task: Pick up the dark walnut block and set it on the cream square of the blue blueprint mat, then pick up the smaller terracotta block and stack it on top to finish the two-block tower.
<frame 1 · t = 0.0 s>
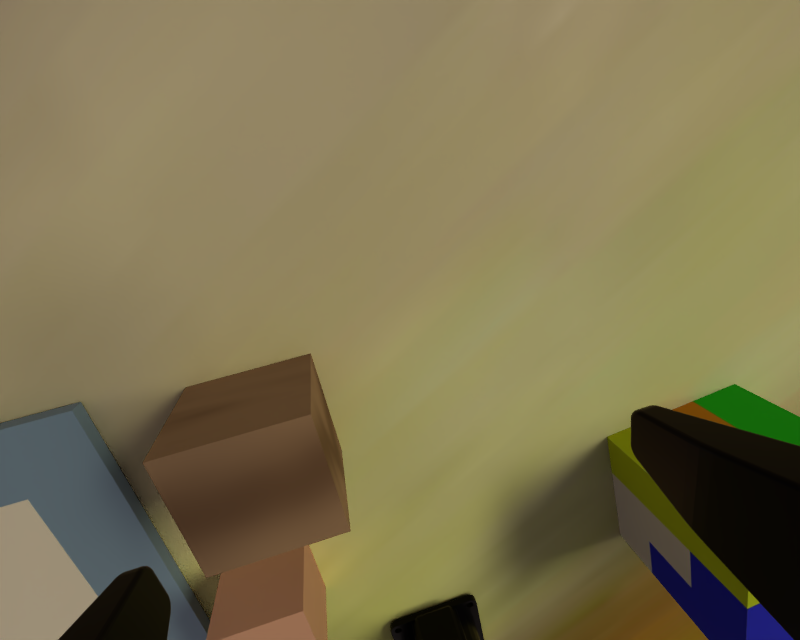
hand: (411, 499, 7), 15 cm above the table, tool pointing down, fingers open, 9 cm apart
terracotta block: (277, 572, 27), on the table
puzzle toy: (671, 461, 31), on the table
walnut block: (269, 419, 23), on the table
blueprint mat: (8, 578, 23), on the table
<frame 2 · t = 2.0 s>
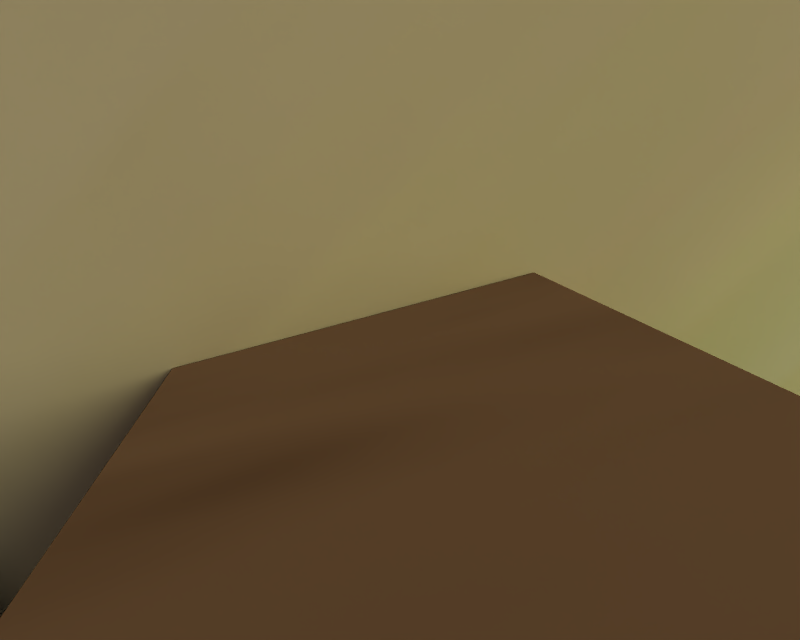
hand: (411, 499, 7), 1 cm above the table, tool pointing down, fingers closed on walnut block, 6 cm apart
walnut block: (399, 462, 8), on the table, touching gripper
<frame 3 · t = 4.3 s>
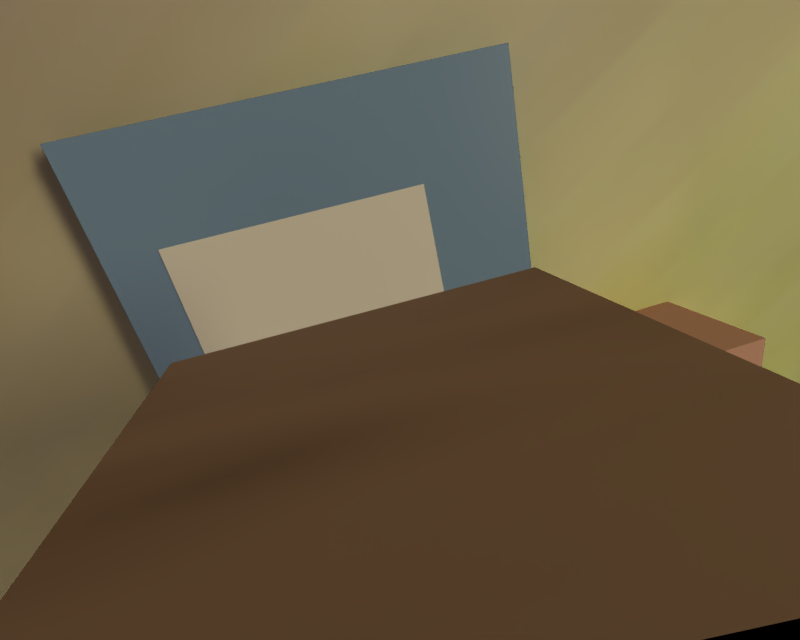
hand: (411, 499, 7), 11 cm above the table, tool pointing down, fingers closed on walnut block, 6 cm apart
terracotta block: (622, 357, 22), on the table
walnut block: (399, 458, 8), point 10 cm above the table, touching gripper
blueprint mat: (354, 322, 18), on the table
when the fingers open (3 cm above the table, at t = 6.5 s): walnut block drops 1 cm, resting on blueprint mat.
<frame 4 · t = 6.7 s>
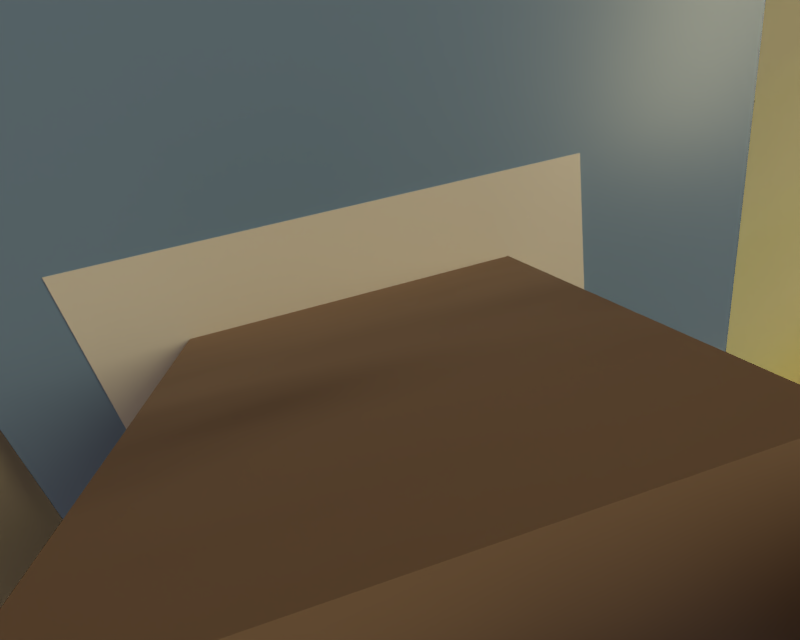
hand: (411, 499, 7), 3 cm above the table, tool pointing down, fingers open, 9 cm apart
walnut block: (390, 427, 9), point 1 cm above the table, touching blueprint mat
blueprint mat: (420, 399, 10), on the table
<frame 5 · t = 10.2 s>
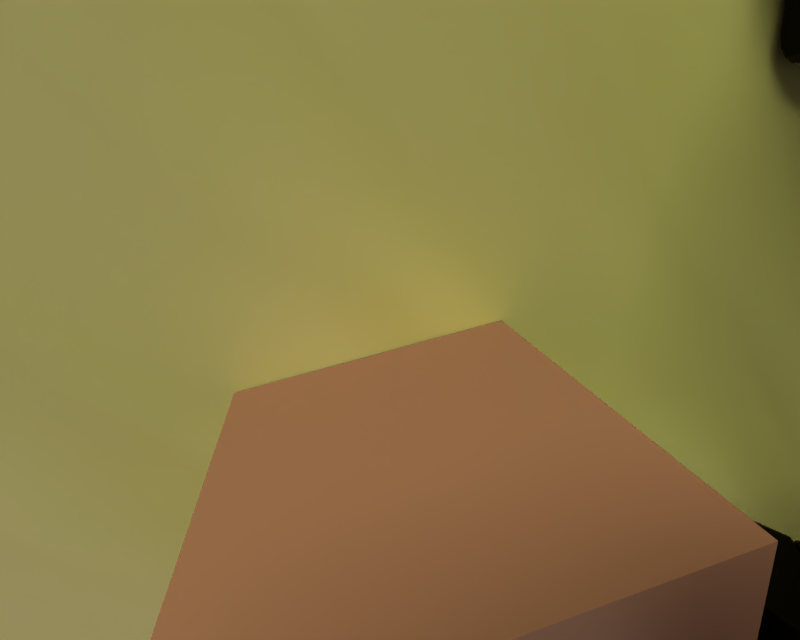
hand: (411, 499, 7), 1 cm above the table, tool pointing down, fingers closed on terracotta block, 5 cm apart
terracotta block: (399, 462, 8), on the table, touching gripper
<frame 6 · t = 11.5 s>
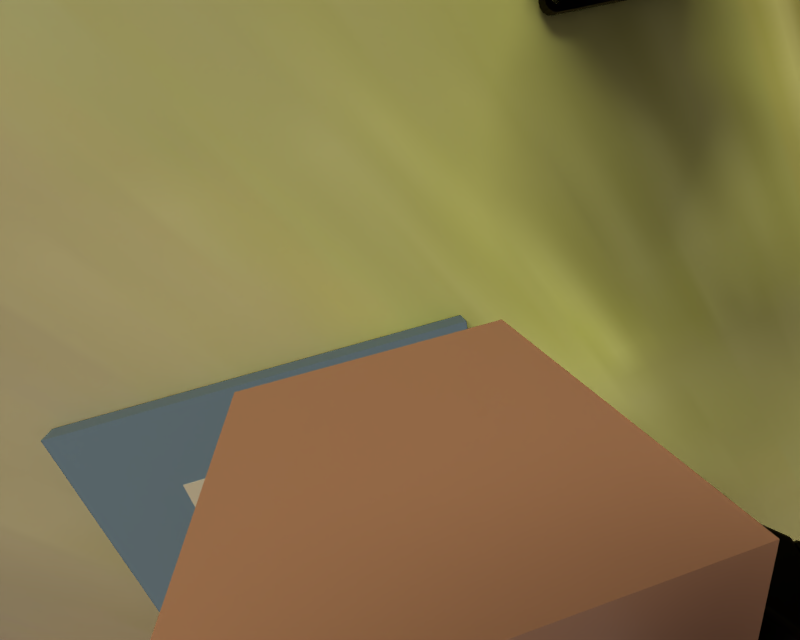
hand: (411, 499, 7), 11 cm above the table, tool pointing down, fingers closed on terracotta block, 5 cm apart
terracotta block: (400, 461, 8), point 10 cm above the table, touching gripper
blueprint mat: (318, 502, 21), on the table
when the fingers open (9 cm above the table, at t = 13.0 s): terracotta block drops 1 cm, resting on walnut block.
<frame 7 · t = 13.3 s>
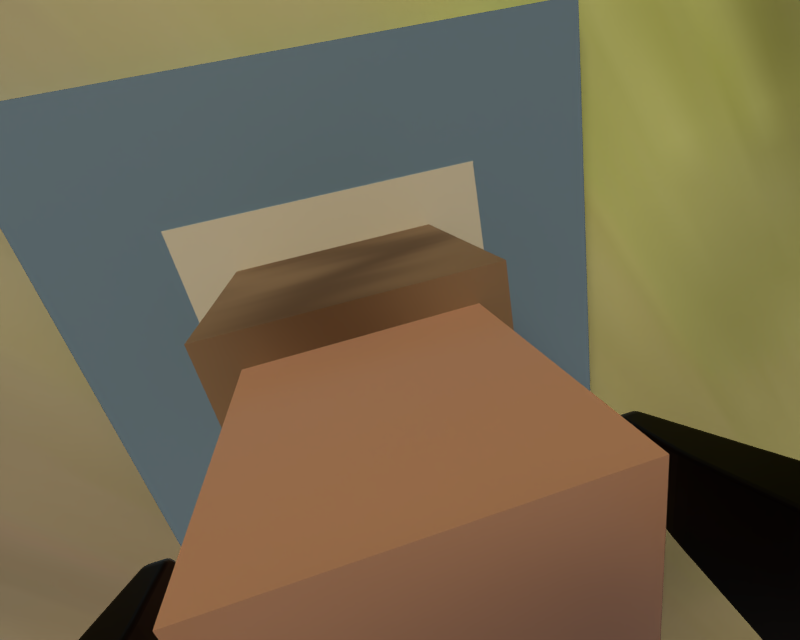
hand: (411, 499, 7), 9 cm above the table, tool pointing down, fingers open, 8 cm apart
terracotta block: (390, 433, 9), point 7 cm above the table, touching walnut block
walnut block: (358, 334, 15), point 1 cm above the table, touching blueprint mat, terracotta block
blueprint mat: (351, 303, 15), on the table
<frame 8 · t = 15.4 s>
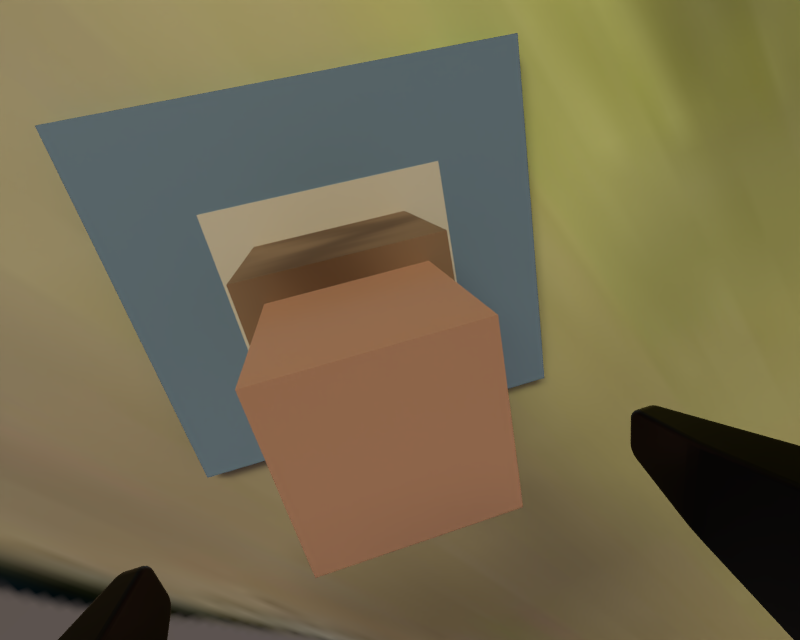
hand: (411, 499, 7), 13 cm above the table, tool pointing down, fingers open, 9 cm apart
terracotta block: (368, 355, 13), point 7 cm above the table, touching walnut block
walnut block: (349, 299, 19), point 1 cm above the table, touching blueprint mat, terracotta block
blueprint mat: (344, 275, 19), on the table
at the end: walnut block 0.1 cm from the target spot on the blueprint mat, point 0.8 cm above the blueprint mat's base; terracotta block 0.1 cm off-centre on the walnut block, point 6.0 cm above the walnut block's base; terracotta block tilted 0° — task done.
